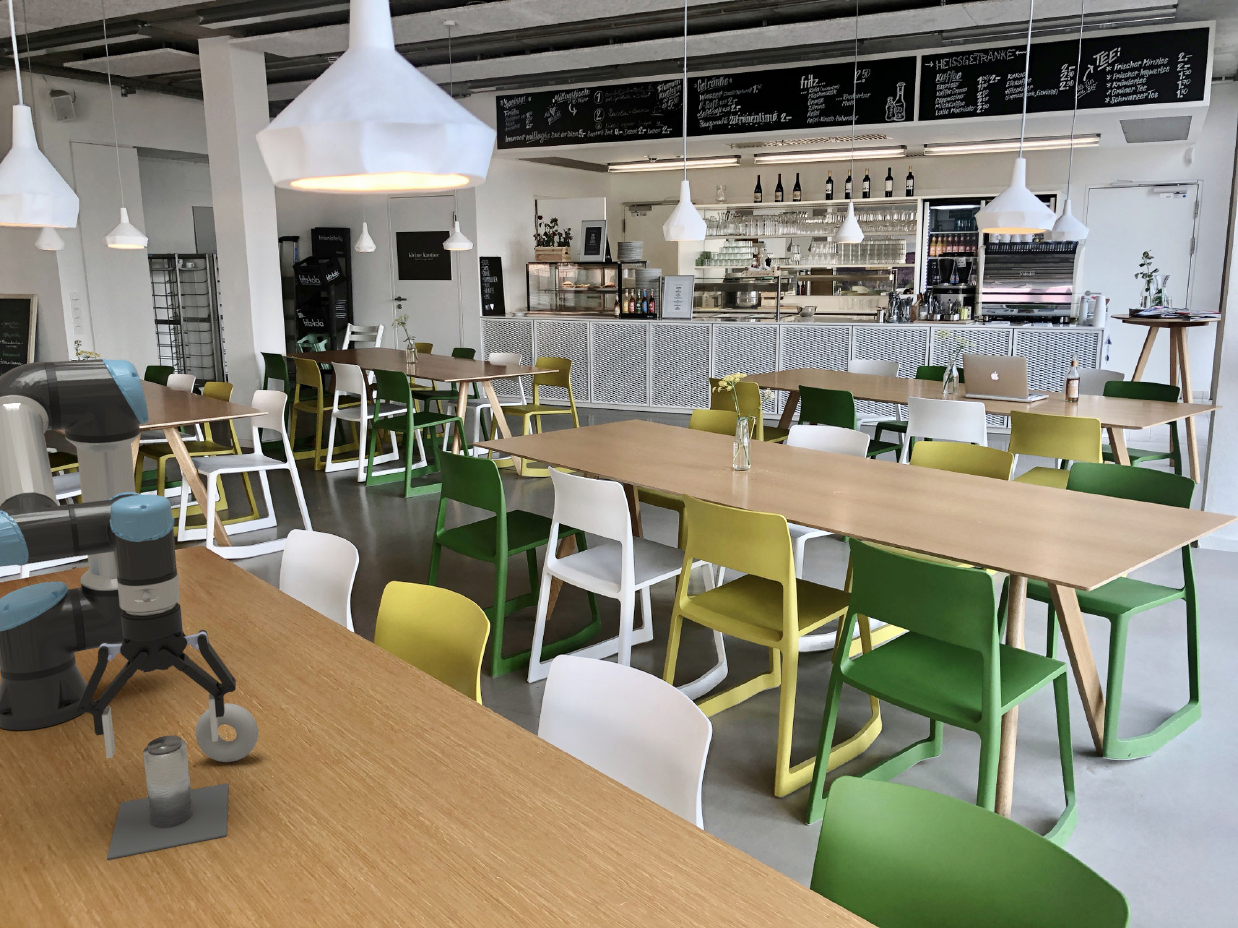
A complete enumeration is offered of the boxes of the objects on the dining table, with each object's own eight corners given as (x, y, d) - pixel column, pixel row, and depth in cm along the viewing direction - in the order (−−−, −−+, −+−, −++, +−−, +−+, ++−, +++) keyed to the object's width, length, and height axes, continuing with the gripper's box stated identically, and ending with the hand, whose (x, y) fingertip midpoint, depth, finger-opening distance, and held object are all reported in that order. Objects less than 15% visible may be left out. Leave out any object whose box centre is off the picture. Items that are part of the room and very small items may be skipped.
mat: (120, 803, 139) (120, 802, 139) (228, 784, 144) (228, 782, 144) (106, 859, 125) (106, 858, 125) (226, 836, 131) (226, 834, 131)
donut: (263, 754, 154) (259, 698, 152) (256, 765, 150) (251, 708, 148) (203, 756, 153) (197, 699, 151) (194, 766, 150) (188, 709, 148)
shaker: (152, 811, 137) (144, 737, 134) (193, 803, 139) (186, 730, 136) (148, 831, 131) (141, 755, 129) (191, 823, 134) (184, 747, 131)
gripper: (41, 627, 121) (60, 773, 125) (246, 604, 130) (256, 742, 134) (52, 607, 128) (69, 747, 132) (246, 587, 137) (256, 718, 141)
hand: (164, 745), depth 133 cm, fingers open, 13 cm apart
